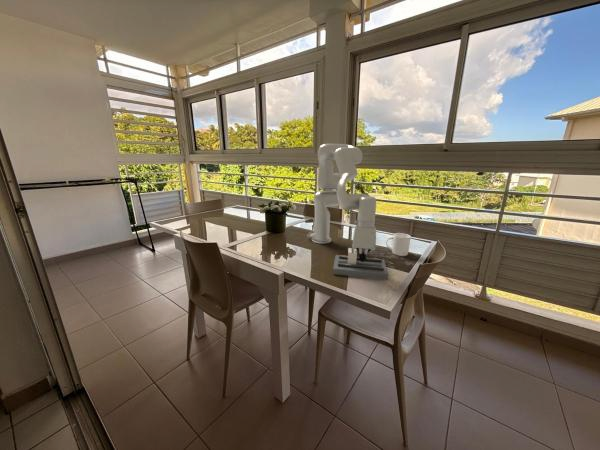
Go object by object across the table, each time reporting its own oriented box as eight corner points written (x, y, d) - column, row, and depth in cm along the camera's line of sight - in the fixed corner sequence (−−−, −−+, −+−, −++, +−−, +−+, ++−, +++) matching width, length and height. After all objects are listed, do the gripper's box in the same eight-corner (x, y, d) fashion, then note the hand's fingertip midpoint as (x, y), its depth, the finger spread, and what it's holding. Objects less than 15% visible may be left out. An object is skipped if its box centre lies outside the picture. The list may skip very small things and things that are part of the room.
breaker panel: (332, 274, 110) (333, 266, 109) (335, 259, 125) (335, 252, 124) (387, 280, 106) (388, 271, 104) (383, 264, 121) (384, 257, 119)
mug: (386, 248, 142) (388, 231, 139) (408, 252, 137) (410, 234, 134) (384, 253, 134) (386, 235, 131) (407, 257, 129) (410, 238, 126)
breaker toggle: (347, 264, 113) (348, 252, 111) (347, 259, 119) (348, 247, 117) (356, 265, 112) (357, 252, 110) (355, 259, 118) (356, 248, 116)
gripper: (348, 224, 107) (346, 262, 112) (383, 227, 104) (379, 265, 109) (349, 220, 114) (346, 256, 119) (381, 222, 111) (377, 259, 116)
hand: (362, 260), depth 114 cm, fingers closed
